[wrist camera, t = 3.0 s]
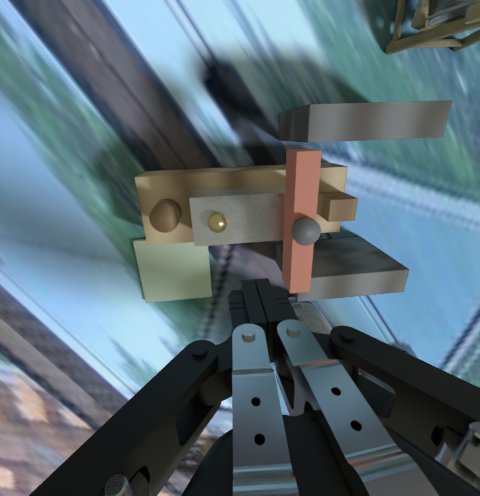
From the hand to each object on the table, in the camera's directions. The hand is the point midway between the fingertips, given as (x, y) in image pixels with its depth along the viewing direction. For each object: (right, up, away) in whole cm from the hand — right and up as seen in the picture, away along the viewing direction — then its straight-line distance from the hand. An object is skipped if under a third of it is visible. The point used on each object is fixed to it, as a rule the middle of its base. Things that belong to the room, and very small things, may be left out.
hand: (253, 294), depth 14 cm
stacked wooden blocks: (+2, +10, +22) cm, 24 cm away
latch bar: (+5, +5, +12) cm, 14 cm away
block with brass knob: (0, +7, +17) cm, 18 cm away
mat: (-10, -1, +24) cm, 26 cm away
